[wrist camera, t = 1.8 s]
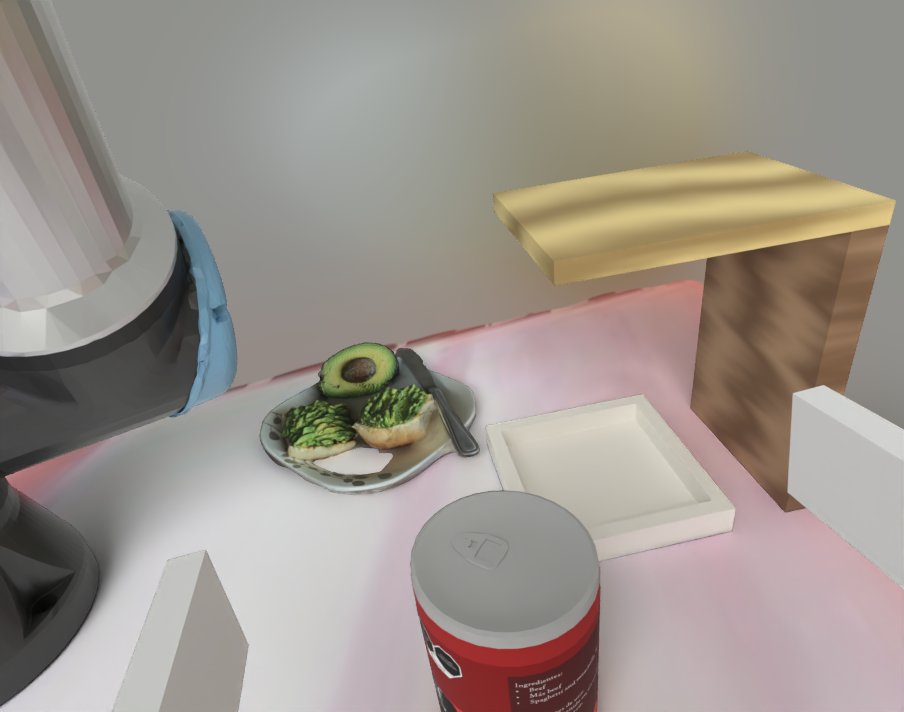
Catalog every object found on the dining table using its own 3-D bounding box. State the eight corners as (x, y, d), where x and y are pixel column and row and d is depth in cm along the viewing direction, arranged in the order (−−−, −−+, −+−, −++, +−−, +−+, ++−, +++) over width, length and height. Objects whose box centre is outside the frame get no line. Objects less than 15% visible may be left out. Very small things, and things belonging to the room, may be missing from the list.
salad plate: (540, 417, 51) (538, 372, 49) (383, 550, 40) (371, 500, 38) (390, 354, 63) (382, 315, 61) (240, 443, 53) (224, 400, 50)
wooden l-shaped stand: (813, 505, 39) (895, 200, 29) (562, 562, 37) (553, 261, 27) (713, 403, 49) (747, 151, 39) (513, 444, 48) (492, 193, 37)
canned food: (461, 621, 35) (437, 480, 29) (602, 645, 33) (606, 498, 27) (420, 762, 29) (380, 618, 23) (592, 805, 26) (594, 656, 21)
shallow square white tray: (731, 531, 38) (735, 508, 37) (534, 575, 37) (532, 553, 36) (641, 413, 49) (642, 393, 48) (487, 445, 48) (485, 425, 47)
